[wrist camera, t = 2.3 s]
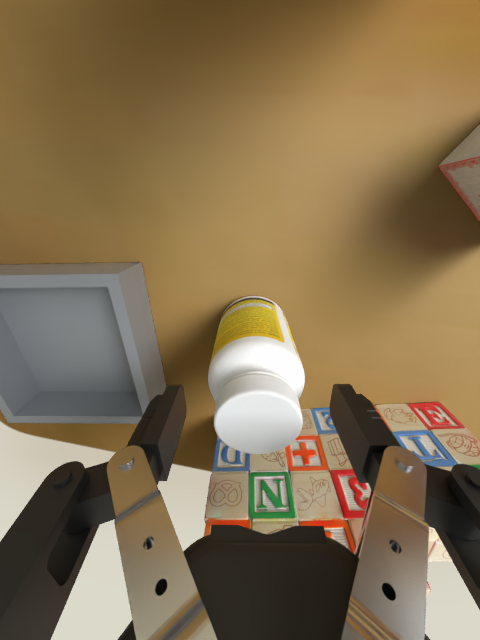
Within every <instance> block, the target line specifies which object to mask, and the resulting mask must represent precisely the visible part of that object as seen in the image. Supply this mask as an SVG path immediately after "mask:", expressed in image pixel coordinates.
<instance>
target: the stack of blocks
mask: <svg viewBox="0 0 480 640" xmlns="http://www.w3.org/2000/svg"><path fill="white" fill-rule="evenodd" d="M373 406H374V405H373ZM374 407H375V409H376V411H377V412H378V413H379V414H380V416H381V419H383V420H384V422H385V423H386V425H387V426H388V428H389V429H390V431H391V432H392V434H393V435H394V436H395V438H396V439H397V441H398V442H399V444H400V445H401V447H403V448H405V449H408V450H409V451H411V452H413V453H414V454H415V455H417V456H418V457H419V458H420V459H421V460H422V462H423V463H424V464H427V465H430V466H434V467H437V468H441V469H445V470H448V471H451V469H452V467H453V466H454V465H456V464H467V465H471V466H473V467H476V468H478V469H480V440H479V439H478V438H477V437H475V436H474V435H473V433H472V432H471V431H470V430H468V429H466V428H465V427H464V426H463V425H462V424H461V422H460V421H458V419H457V418H456V417H455V416H454V415H453V414H452V413H451V412H450V411H449V410H448V409H447V408H446V407H445V406H444V405H442V404H441V403H440V402H431V403H415V404H405V403H399V404H380V405H375V406H374ZM301 413H302V418H303V424H302V429H301V432H300V434H299V436H298V437H297V438H296V439H295V440H294V441H293V442H292V443H291V444H290V445H288V446H287V447H285V448H283V449H281V450H279V451H276V452H272V453H267V454H250V453H244V452H241V451H238V450H235V449H233V448H231V447H229V446H228V445H226V444H225V443H224V442H223V441H222V440H221V439H220V438H219V436H218V435H217V443H216V449H215V455H214V462H213V468H212V474H211V477H210V484H209V492H208V497H207V504H206V512H205V523H206V527H205V533H204V537H205V536H207V535H210V532H211V525H240V526H243V527H246V528H249V529H252V530H255V531H258V532H261V533H264V534H272V533H275V532H278V531H281V530H284V529H287V528H290V527H293V526H324V530H325V534H326V537H329V538H332V539H334V540H336V541H338V542H339V543H341V544H342V545H344V546H345V547H347V548H348V549H349V550H351V551H352V552H353V553H354V552H355V549H356V545H357V542H358V538H359V535H360V531H361V527H362V523H363V519H364V515H365V511H366V508H367V504H368V500H369V496H370V492H371V488H370V486H369V484H368V483H359V482H358V480H357V478H356V475H355V473H354V470H353V468H352V466H351V463H350V461H349V459H348V456H347V454H346V452H345V449H344V447H343V445H342V442H341V440H340V438H339V435H338V433H337V431H336V428H335V426H334V424H333V421H332V419H331V416H330V408H313V409H301ZM428 561H429V562H437V561H441V562H448V561H452V559H451V557H450V556H449V554H448V552H447V550H446V548H445V547H444V545H443V543H442V541H441V539H440V538H439V536H438V534H437V532H436V530H435V529H434V528H432V527H429V541H428ZM430 590H431V589H430V587H429V584H428V582H427V590H426V597H427V595H428V594H429V592H430Z"/></svg>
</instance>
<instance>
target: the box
mask: <svg viewBox="0 0 480 640" xmlns="http://www.w3.org/2000/svg"><path fill="white" fill-rule="evenodd" d="M165 389H166V382H165V377H164V372H163V367H162V362H161V357H160V352H159V347H158V342H157V337H156V332H155V327H154V322H153V317H152V312H151V307H150V302H149V297H148V292H147V287H146V282H145V277H144V272H143V267H142V262H118V263H56V264H0V410H1V412H2V413H3V415H4V417H5V418H6V420H7V421H8V423H118V424H138V423H139V421H140V420H141V419H142V416H143V414H144V412H145V410H146V408H147V406H148V404H149V402H150V401H151V400H152V399H153V398H154V397H155V396H156V395H163V393H164V391H165Z"/></svg>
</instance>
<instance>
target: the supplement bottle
mask: <svg viewBox="0 0 480 640" xmlns="http://www.w3.org/2000/svg"><path fill="white" fill-rule="evenodd" d="M304 383H305V376H304V370H303V366H302V363H301V360H300V357H299V355H298V352H297V349H296V346H295V343H294V340H293V337H292V335H291V332H290V329H289V326H288V323H287V320H286V318H285V315H284V313H283V311H282V310H281V309H280V307H279V306H278V305H277V304H276V303H274V302H273V301H271V300H269V299H267V298H264V297H260V296H247V297H243V298H240V299H238V300H236V301H234V302H233V303H232V304H230V305H229V306H228V307H227V309H226V310H225V311H224V313H223V315H222V317H221V320H220V323H219V328H218V332H217V336H216V340H215V344H214V349H213V353H212V358H211V362H210V366H209V373H208V384H209V389H210V392H211V394H212V396H213V398H214V400H215V401H216V404H215V413H214V428H215V431H216V433H217V435H218V436H219V438H220V439H221V440H222V441H223V442H224V443H225V444H226V445H228V446H229V447H231V448H233V449H235V450H238V451H241V452H244V453H250V454H267V453H272V452H276V451H279V450H281V449H283V448H285V447H287V446H288V445H290V444H291V443H292V442H293V441H294V440H295V439H296V438H297V437H298V436H299V434H300V432H301V429H302V424H303V418H302V413H301V409H300V405H299V401H298V399H299V398H300V396H301V394H302V391H303V388H304Z"/></svg>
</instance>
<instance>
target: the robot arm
mask: <svg viewBox="0 0 480 640" xmlns="http://www.w3.org/2000/svg"><path fill="white" fill-rule="evenodd" d="M330 416H331V419H332V421H333V424H334V426H335V428H336V431H337V433H338V435H339V438H340V440H341V442H342V445H343V447H344V449H345V452H346V454H347V456H348V459H349V461H350V463H351V466H352V468H353V470H354V473H355V475H356V478H357V480H358V482H359V483H368V484H369V486H370V488H371V492H370V496H369V500H368V504H367V508H366V511H365V515H364V519H363V523H362V527H361V531H360V535H359V538H358V542H357V545H356V549H355V552H354V553H353V552H352V551H351V550H349V549H348V548H347V547H345V546H344V545H342V544H341V543H339V542H338V541H336V540H334V539H332V538H329V537H326V534H325V530H324V526H293V527H290V528H287V529H284V530H281V531H278V532H275V533H272V534H264V533H261V532H258V531H255V530H252V529H249V528H246V527H243V526H240V525H211V532H210V535H207V536H205V537H203V538H201V539H199V540H197V541H196V542H194V543H193V544H191V545H190V546H189V547H188V548H187V549H186V550H185V551H184V552H183V550H182V548H181V545H180V543H179V540H178V537H177V535H176V532H175V529H174V527H173V524H172V521H171V519H170V516H169V514H168V511H167V508H166V506H165V503H164V500H163V498H162V495H161V493H160V491H159V490H158V488H157V485H158V482H159V481H167V478H168V475H169V471H170V468H171V465H172V461H173V458H174V455H175V451H176V448H177V445H178V441H179V438H180V435H181V431H182V428H183V425H184V421H185V418H186V401H185V395H184V389H183V385H167V387H166V389H165V391H164V393H163V395H156V396H155V397H154V398H153V399H152V400H151V401H150V402H149V404H148V406H147V408H146V410H145V412H144V414H143V416H142V419H141V420H140V421H139V423H138V425H137V427H136V429H135V431H134V433H133V435H132V437H131V439H130V441H129V443H128V445H127V446H126V447H125V448H122V449H121V450H119V451H118V452H116V453H115V454H114V455H113V456H112V458H111V459H110V460H109V461H108V462H106V463H103V464H99V465H96V466H92V467H89V468H84V466H83V464H82V463H80V462H77V461H74V462H69V463H66V464H63V465H61V466H60V467H58V468H56V469H55V470H54V471H52V472H51V473H50V474H49V475H48V476H47V477H46V478H45V480H44V481H43V482H42V484H41V485H40V487H39V488H38V489H37V491H36V492H35V494H34V495H33V497H32V498H31V499H30V501H29V502H28V504H27V505H26V506H25V508H24V509H23V511H22V512H21V513H20V515H19V517H18V518H17V519H16V521H15V522H14V524H13V525H12V526H11V528H10V529H9V530H8V532H7V533H6V535H5V536H4V538H3V539H2V540H1V542H0V640H50V639H51V637H52V634H53V632H54V630H55V628H56V625H57V623H58V621H59V618H60V616H61V614H62V611H63V609H64V606H65V604H66V602H67V599H68V597H69V595H70V592H71V590H72V588H73V585H74V583H75V580H76V578H77V576H78V573H79V571H80V569H81V567H82V564H83V562H84V560H85V557H86V555H87V553H88V550H89V548H90V545H91V543H92V541H93V538H94V536H95V534H96V531H97V529H98V527H99V524H102V523H105V522H108V521H110V520H113V519H115V529H116V534H117V539H118V544H119V550H120V555H121V560H122V566H123V571H124V576H125V581H126V587H127V592H128V598H129V603H130V608H131V614H132V619H133V620H132V621H131V622H130V624H129V625H128V626H127V628H126V629H125V631H124V632H123V633H122V635H121V636H120V637H119V639H118V640H430V639H429V638H428V636H426V634H425V613H426V590H427V566H428V564H427V563H428V541H429V527H432V528H434V529H435V530H436V532H437V534H438V536H439V538H440V539H441V541H442V543H443V545H444V547H445V548H446V550H447V552H448V554H449V556H450V557H451V559H452V561H453V563H454V564H455V566H456V568H457V570H458V571H459V573H460V575H461V577H462V579H463V580H464V582H465V584H466V586H467V588H468V590H469V591H470V593H471V595H472V596H473V599H474V600H475V602H476V604H477V606H478V608H479V609H480V469H478V468H476V467H473V466H471V465H467V464H456V465H454V466H453V467H452V469H451V471H448V470H445V469H441V468H437V467H434V466H430V465H427V464H424V463H423V462H422V460H421V459H420V458H419V457H418V456H417V455H415V454H414V453H413V452H411V451H409V450H408V449H405V448H403V447H401V445H400V444H399V442H398V441H397V439H396V438H395V436H394V435H393V434H392V432H391V431H390V429H389V428H388V426H387V425H386V423H385V422H384V420H383V419H381V416H380V414H379V413H378V412H377V411H376V409H375V407H374V406H373V404H372V403H371V401H369V400H368V399H367V398H366V397H364V396H363V395H362V394H356V392H355V391H354V389H353V388H352V386H351V385H350V384H334V385H333V390H332V395H331V401H330Z"/></svg>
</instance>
